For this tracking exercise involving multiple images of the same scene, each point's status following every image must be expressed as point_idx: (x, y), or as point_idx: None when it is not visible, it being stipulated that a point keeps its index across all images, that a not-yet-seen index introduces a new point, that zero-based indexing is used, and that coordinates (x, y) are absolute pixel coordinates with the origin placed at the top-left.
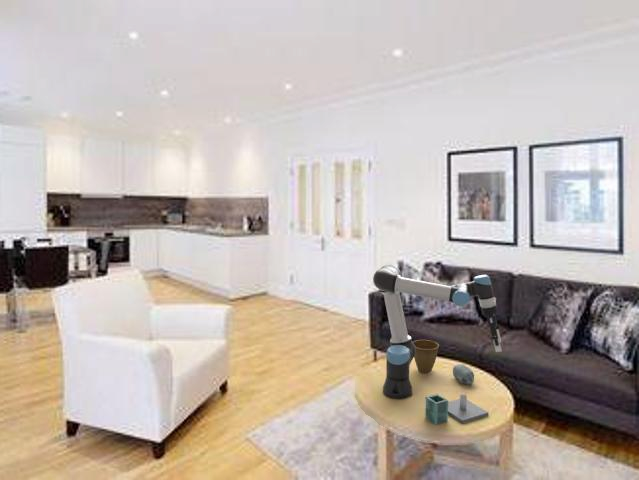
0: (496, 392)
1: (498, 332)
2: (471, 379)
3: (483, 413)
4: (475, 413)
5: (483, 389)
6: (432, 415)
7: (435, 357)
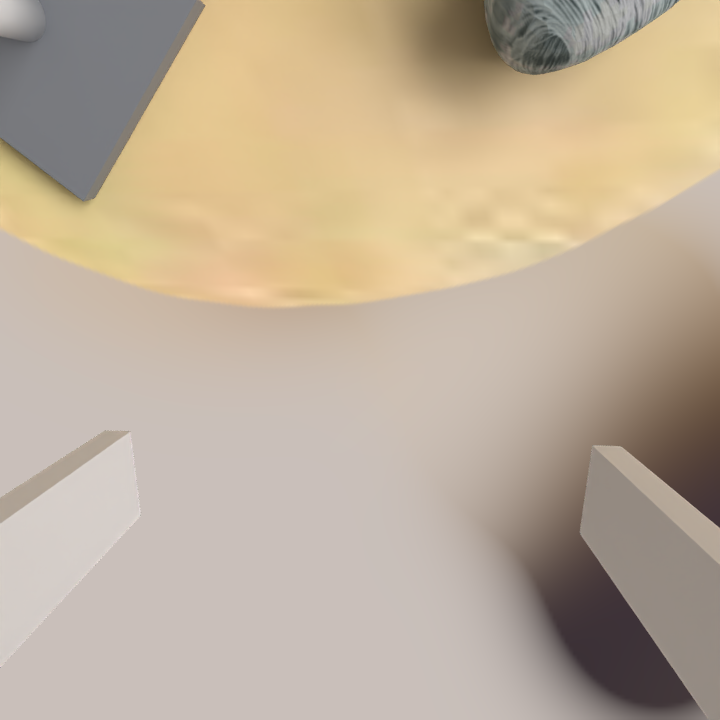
0: (426, 245)
1: (703, 695)
2: (498, 48)
3: (48, 170)
4: (12, 116)
5: (449, 158)
6: None
7: None
